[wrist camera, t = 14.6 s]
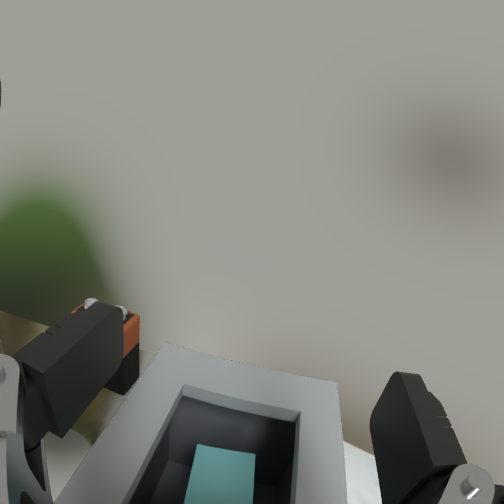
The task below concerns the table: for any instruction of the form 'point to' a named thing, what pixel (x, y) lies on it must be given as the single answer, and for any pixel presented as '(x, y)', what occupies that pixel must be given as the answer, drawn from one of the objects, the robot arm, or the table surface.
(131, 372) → the battery
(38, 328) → the table surface
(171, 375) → the slot box
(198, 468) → the teal rectangular block
